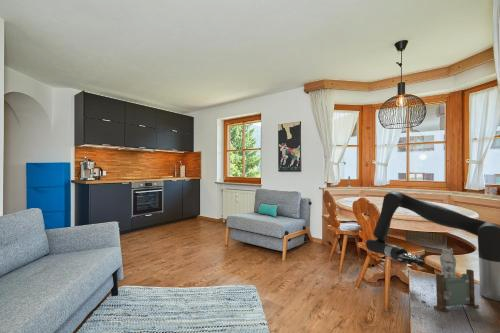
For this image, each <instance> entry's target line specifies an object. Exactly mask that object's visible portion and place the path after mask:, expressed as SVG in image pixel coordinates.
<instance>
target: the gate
mask: <svg viewBox="0 0 500 333" xmlns="http://www.w3.org/2000/svg"><path fill="white" fill-rule="evenodd" d="M444 278H445V290H449V291H451V299H447V300H446V299H445V307H446V308H449V307H454V306H455V307H456V306H460V305H465V304H470V298H469V275H467V274H466V273H462V274H461V277H456V278H452V279H448V277H445V276H444Z"/></svg>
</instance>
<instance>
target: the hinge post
mask: <svg viewBox="0 0 500 333" xmlns="http://www.w3.org/2000/svg"><path fill="white" fill-rule="evenodd" d="M465 271H466V273H465V274H467V275H469V298H470V304H464V306H466V307H469V308H471V309H476V308H480V304H478V303H476V301H475V300H476V298H475V273H474V270H473V269H466V270H465Z"/></svg>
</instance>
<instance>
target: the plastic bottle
mask: <svg viewBox="0 0 500 333" xmlns="http://www.w3.org/2000/svg"><path fill="white" fill-rule="evenodd" d="M453 253H454V252H453V248H451V247H447V246H445V247H442V253H441V255H440V256H439V262H440V272H441V273H442V274H444V276H445V277H448V279H452V278H457V276H456V270H457V269H456V267H457V259H456V256H455V255H454V254H453Z"/></svg>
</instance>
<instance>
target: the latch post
mask: <svg viewBox="0 0 500 333" xmlns="http://www.w3.org/2000/svg"><path fill="white" fill-rule="evenodd" d="M435 282H436V283H435V286H436V289H435V290H436V305H433V309H434V310H436V311H438V312H440V313H442V314H444V313H449V312H450V309H449V308H448V307H445V299H446V300H447V299H451V291H449V290H445V278H444V274H442V272H435Z"/></svg>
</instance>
